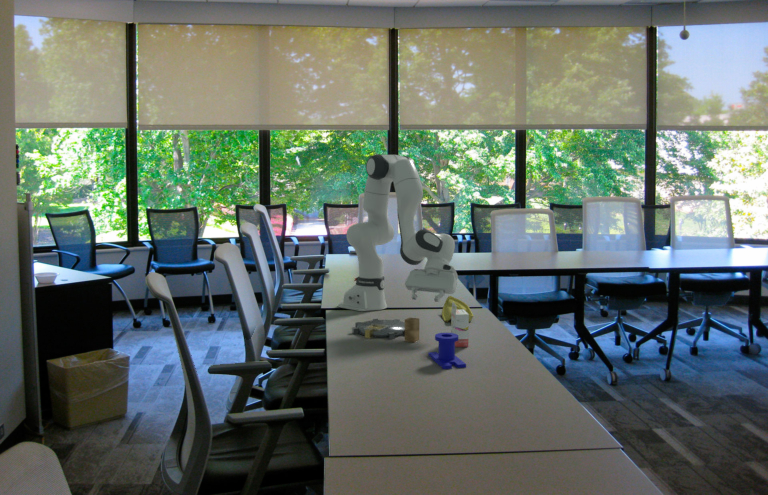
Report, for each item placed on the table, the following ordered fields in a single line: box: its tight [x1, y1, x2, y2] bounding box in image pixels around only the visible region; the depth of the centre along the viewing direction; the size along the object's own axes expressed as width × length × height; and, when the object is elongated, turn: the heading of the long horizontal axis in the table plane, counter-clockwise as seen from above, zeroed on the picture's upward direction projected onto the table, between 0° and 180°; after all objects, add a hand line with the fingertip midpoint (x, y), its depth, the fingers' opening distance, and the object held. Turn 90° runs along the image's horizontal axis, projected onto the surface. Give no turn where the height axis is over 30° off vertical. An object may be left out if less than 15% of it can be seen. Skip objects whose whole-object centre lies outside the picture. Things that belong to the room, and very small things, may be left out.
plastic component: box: [441, 295, 474, 323], centre depth 261 cm, size 20×7×10 cm
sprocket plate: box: [351, 318, 405, 340], centre depth 239 cm, size 24×24×3 cm
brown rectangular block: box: [404, 316, 420, 343], centre depth 225 cm, size 4×4×8 cm
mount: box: [427, 332, 467, 370], centre depth 200 cm, size 15×8×9 cm, turn 14°
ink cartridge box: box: [450, 302, 470, 348], centre depth 220 cm, size 9×5×15 cm, turn 5°
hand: (424, 299), depth 233 cm, fingers open, 8 cm apart
